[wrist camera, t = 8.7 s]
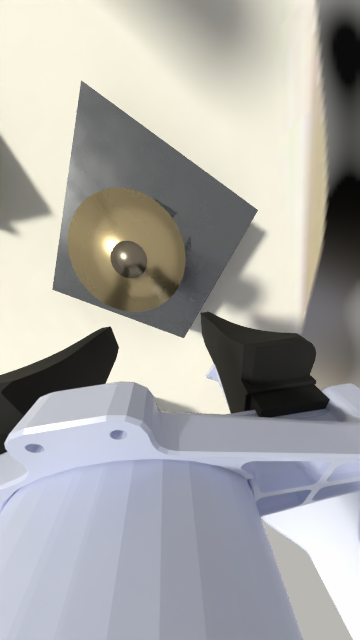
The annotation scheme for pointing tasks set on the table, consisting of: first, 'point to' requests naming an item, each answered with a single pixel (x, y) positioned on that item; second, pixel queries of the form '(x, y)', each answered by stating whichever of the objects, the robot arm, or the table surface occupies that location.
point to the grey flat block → (165, 188)
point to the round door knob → (126, 249)
